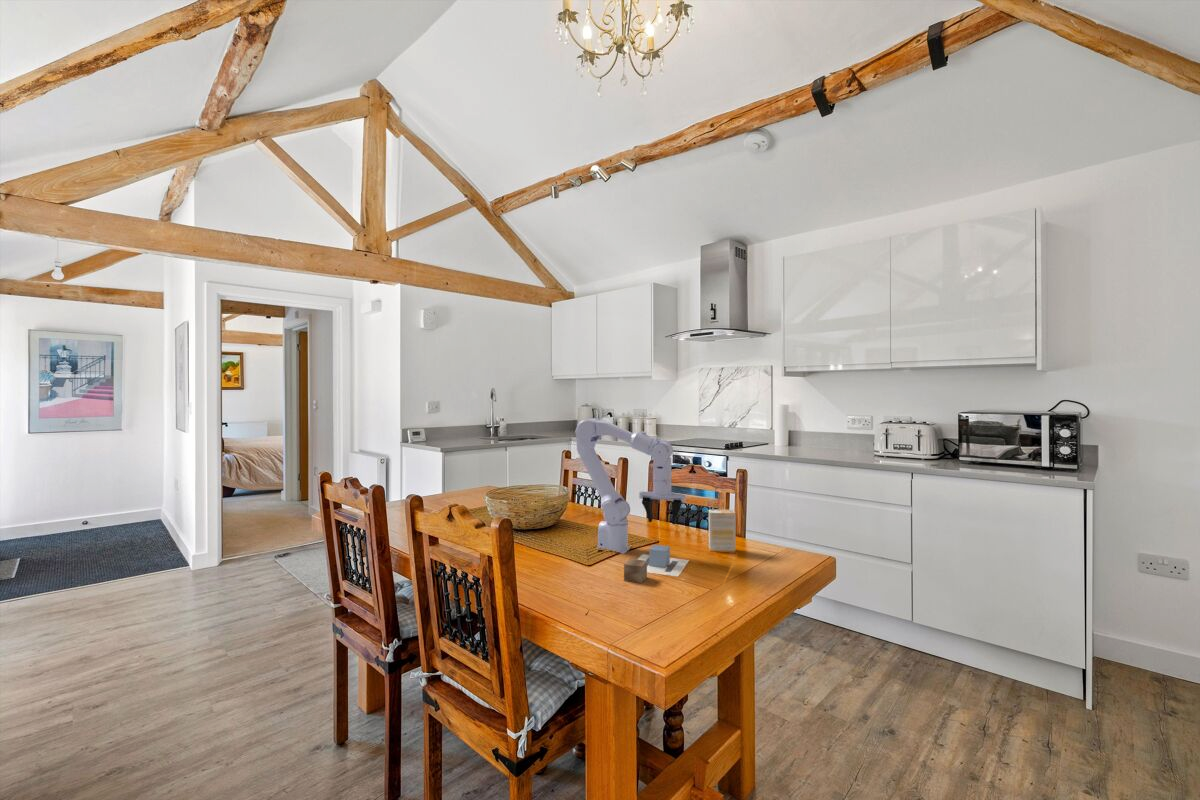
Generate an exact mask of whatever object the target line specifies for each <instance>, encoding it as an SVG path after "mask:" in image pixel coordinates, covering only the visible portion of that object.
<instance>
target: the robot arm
mask: <svg viewBox="0 0 1200 800" xmlns="http://www.w3.org/2000/svg"><path fill="white" fill-rule="evenodd" d="M574 434H575V435H576V451H577V454H578V455H579V457H580V459H581V461H582V464H583V465H584V467H585V469H586V470H587V473H588V475H589V476H590V477H589V478H590V479H591V481H592V484H593V485H594V487H595V488H596V490H597V492H598V495H599V496H600V498H601V501H600V506H601V508H602V512H603V513H602V515H603V518H604V520H601V521H600V522H599V524H598V529H597V549H598V548H604V549H609V550H614V551H620V553H619V554H626V553H627V552H628V551H629V550H630V549H631V548H630V547H629V548H628V545H629V543H628V541H629V536H628V535H629V534H628V533H629V520H628V516H629V515H630V513H631V507H630V503H629V502H628V501H626V499H624V498H623V496H622V494H620V493H619V492H618V491H617V490H616V489H615V486H614V485H613V483H612V481H611V479H610V477H609V475H608V473H607V471H606V469H605V467H604V465H603V464H602V462H601V460H600V458H599V456H598V454H597V452H596V450H595V447H596V443H597V441H598V440H599V438H600V437H601V436H606V435H607V436H610V437H613V438H616V439H619V440H621V441H624V442H625V443H628V444H630V447H631V448H632V449H633V450H636V451H638V452H641V453H643V454H645V455H647V456H651V458H652V459H653V460H652V461H653V463H652V464H653V466H652V478H653V479H652V484H653V485H652V486H653V488H652V491H640V492H639V495H638V496H639V499H642V500H641V504H642V506H643V508H644V510H645V512H646V516H647V521H648V522H649V523H652V522H653V520H654V519H653V518H654V517H653V508H654V507H653V505H654V500H659V501H660V500H662V501H672V502H671V511H672V513H671V515H672V516H671V517H672V519H671V522H672V524H671V525H675V524H677V518H678V514H679V511H680V509H681V507H682V505H683V503H684V502H686V501H687V500H686V496H687V495H686V494H682V493H675V492H672V457H671V456H672V455H673V453H674V448H673V445H672V444H671V443H670V442H669V441H668V440H665V439H664V440H661V438H659V437H654V436H651V435H648V434H647V432H646V431H637V432H635V433H634V432H631V431H629V430H627V429H625V428H623V427H620V426H619V425H616V424H614V423H612V422H610V421H607V420H604V419H601V418H598V417H592V418H588V419H587V418H586V419H582V420H580V421H579V422H578V423H577V426H576V428H575V431H574Z"/></svg>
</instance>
